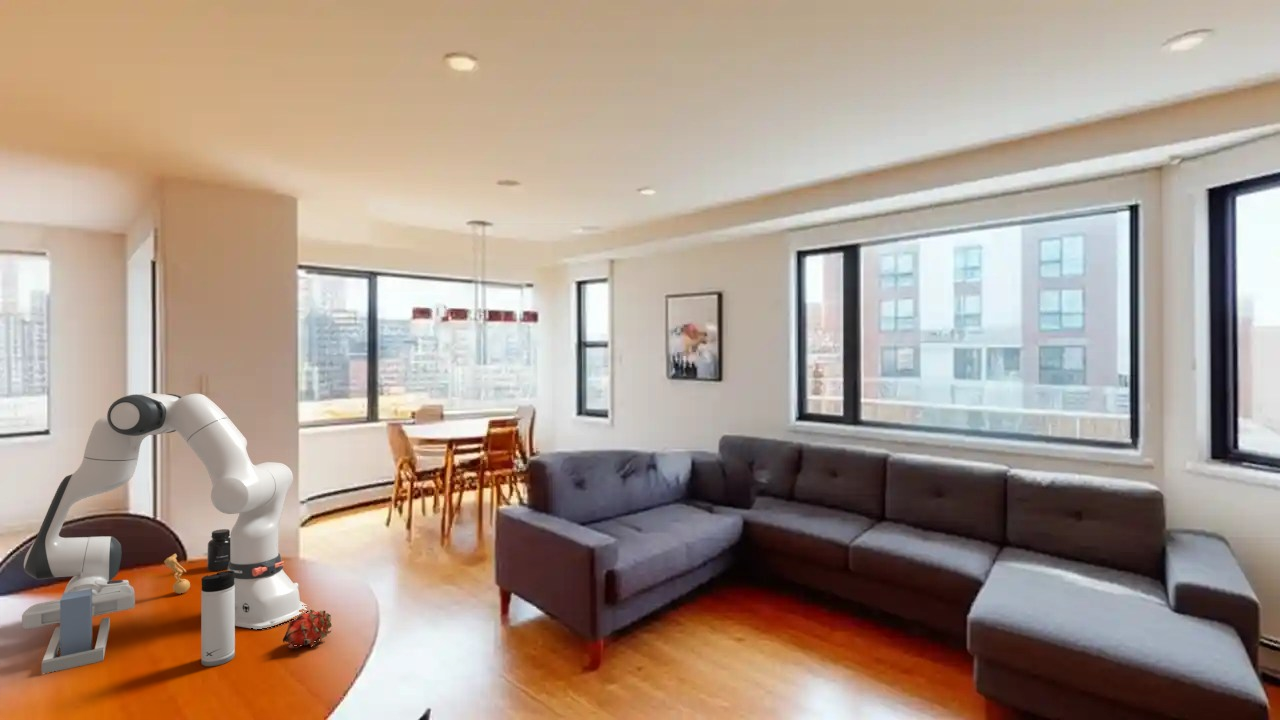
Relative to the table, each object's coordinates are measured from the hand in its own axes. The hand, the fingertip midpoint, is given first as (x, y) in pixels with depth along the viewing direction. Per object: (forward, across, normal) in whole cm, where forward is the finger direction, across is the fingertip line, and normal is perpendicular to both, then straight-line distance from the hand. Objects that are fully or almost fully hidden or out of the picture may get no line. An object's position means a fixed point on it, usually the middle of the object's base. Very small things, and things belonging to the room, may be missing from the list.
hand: (78, 618), depth 143 cm
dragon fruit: (+29, +43, +8) cm, 52 cm away
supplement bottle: (-46, +30, +8) cm, 55 cm away
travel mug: (+25, +26, +8) cm, 36 cm away
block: (+2, 0, +8) cm, 8 cm away
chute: (-2, 0, +8) cm, 8 cm away
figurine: (-27, +19, +8) cm, 34 cm away
